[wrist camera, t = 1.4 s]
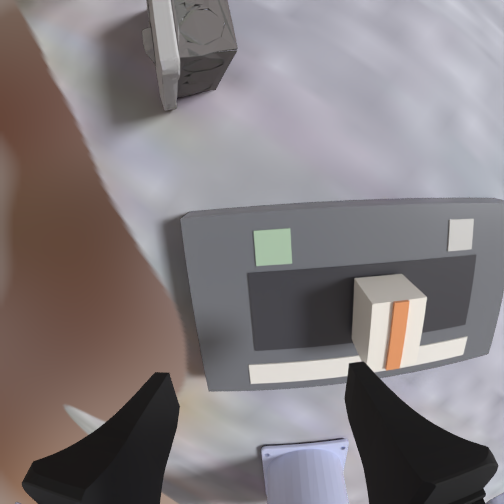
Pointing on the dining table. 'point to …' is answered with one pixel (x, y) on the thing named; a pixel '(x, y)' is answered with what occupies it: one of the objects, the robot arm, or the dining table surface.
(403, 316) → the block
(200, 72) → the electrical switch
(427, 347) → the panel
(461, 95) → the dining table surface
